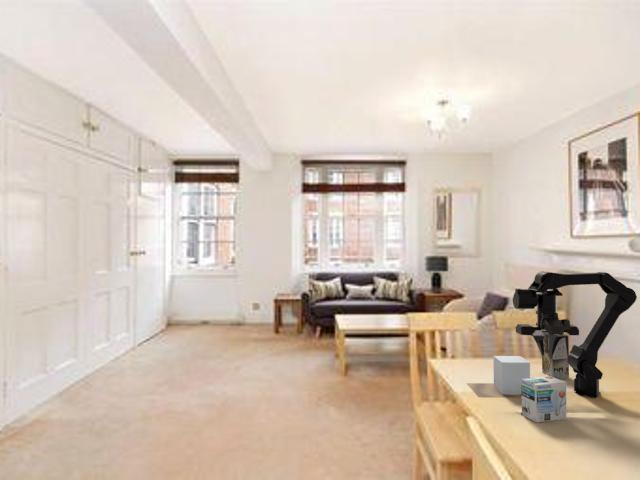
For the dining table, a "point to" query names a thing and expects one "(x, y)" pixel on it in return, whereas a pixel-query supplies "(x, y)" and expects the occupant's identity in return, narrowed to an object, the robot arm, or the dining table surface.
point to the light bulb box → (543, 399)
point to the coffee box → (556, 358)
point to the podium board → (488, 390)
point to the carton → (510, 374)
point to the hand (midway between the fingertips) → (547, 355)
